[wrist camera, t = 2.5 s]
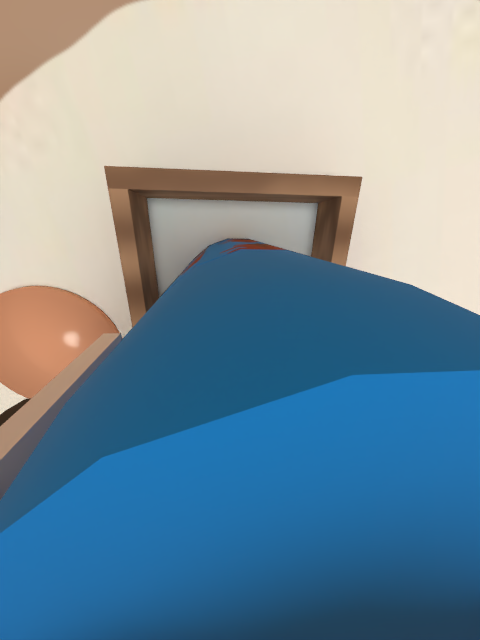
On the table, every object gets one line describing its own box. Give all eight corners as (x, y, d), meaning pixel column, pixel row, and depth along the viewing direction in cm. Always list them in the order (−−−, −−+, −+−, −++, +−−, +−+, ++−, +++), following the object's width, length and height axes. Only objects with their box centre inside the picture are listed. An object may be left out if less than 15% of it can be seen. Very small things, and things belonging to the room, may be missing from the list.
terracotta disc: (134, 397, 31) (132, 402, 30) (11, 403, 30) (4, 408, 29) (112, 285, 25) (108, 287, 24) (-44, 286, 24) (-54, 288, 23)
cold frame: (308, 358, 31) (357, 428, 20) (155, 363, 30) (116, 443, 18) (334, 187, 24) (436, 148, 12) (128, 179, 22) (34, 126, 11)
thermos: (266, 332, 29) (445, 711, 6) (184, 320, 28) (8, 774, 5) (289, 247, 25) (973, 409, 2) (195, 227, 24) (-542, 124, 1)
